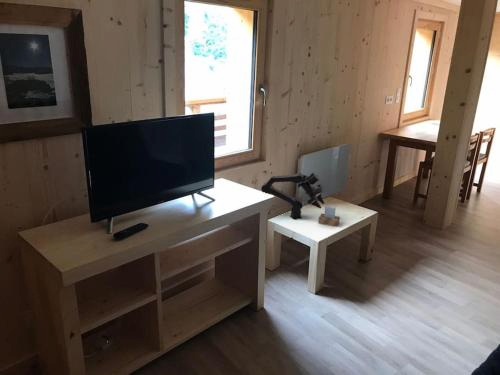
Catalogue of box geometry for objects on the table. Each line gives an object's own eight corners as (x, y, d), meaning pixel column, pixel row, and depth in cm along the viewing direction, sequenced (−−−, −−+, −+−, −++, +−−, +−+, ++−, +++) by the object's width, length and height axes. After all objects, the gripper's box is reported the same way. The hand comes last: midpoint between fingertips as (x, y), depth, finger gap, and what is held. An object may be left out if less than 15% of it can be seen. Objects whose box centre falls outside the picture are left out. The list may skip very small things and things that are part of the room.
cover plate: (323, 219, 288) (325, 206, 284) (324, 218, 289) (325, 205, 286) (333, 221, 285) (335, 208, 282) (334, 220, 287) (335, 207, 283)
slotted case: (318, 223, 287) (318, 217, 285) (321, 219, 294) (321, 213, 292) (336, 226, 282) (337, 220, 280) (339, 222, 289) (339, 216, 287)
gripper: (313, 186, 274) (328, 204, 274) (320, 178, 290) (334, 195, 290) (301, 195, 279) (315, 213, 279) (308, 186, 296) (322, 203, 296)
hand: (322, 205), depth 286 cm, fingers open, 9 cm apart
